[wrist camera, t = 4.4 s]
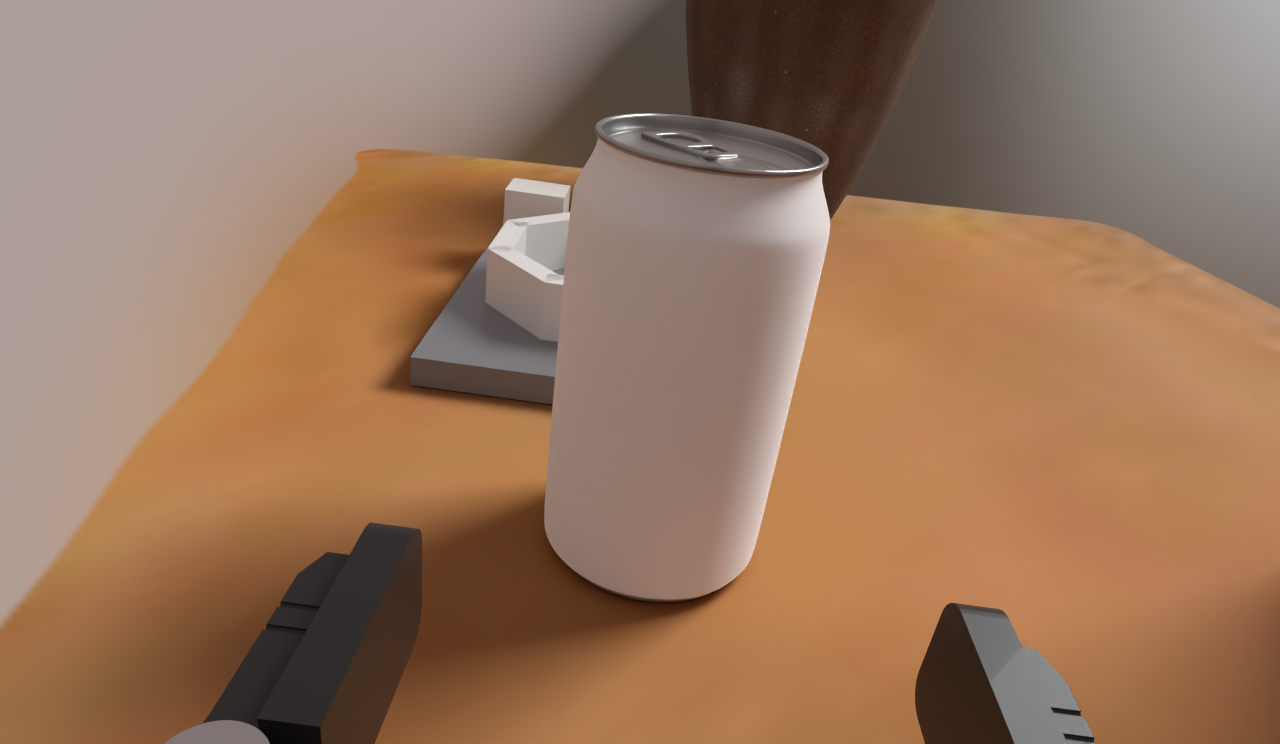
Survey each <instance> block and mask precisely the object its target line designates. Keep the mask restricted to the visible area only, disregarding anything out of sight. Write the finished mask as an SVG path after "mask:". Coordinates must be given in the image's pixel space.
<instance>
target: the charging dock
mask: <svg viewBox="0 0 1280 744" xmlns="http://www.w3.org/2000/svg"><path fill="white" fill-rule="evenodd" d="M570 188H571V186H569V185H562V184H555V183H548V182H541V181H533V180H526V179H519V178H514V179H513V180H512V181H511V183H510V184H509V185H508V186H507V188H506V189H505V200H504V220H503V227H502V228H501V229H499V231H498V232H497V234H496V235H495V236H494V238H493V239H492V241H491V242H490V244H489V245H488V246H487V248H486V249H485V251H484V252H483V254H482V255H481V256H480V258H479V259H478V261H477V262H476V264H475V265H474V266H473V268H472V269H471V271H470V272H469V274H468V275H467V276H466V278H465V279H464V281H463V282H462V284H461V285H460V286H459V288H458V289H457V291H456V292H455V294H454V295H453V296H452V298H451V299H450V301H449V302H448V304H447V305H446V306H445V308H444V309H443V311H442V312H441V314H440V315H439V316H438V318H437V319H436V321H435V322H434V324H433V325H432V326H431V328H430V329H429V331H428V332H427V334H426V335H425V336H424V338H423V339H422V341H421V342H420V344H419V345H418V346H417V348H416V349H415V351H414V352H413V354H412V355H411V356H410V385H414V386H422V387H429V388H436V389H444V390H451V391H458V392H465V393H473V394H480V395H487V396H494V397H502V398H509V399H516V400H524V401H531V402H538V403H545V404H553V395H554V384H555V372H556V361H557V349H558V338H559V327H560V315H561V304H562V293H563V282H564V271H565V260H566V249H567V239H568V228H569V218H570V212H568V211H569V199H570Z"/></svg>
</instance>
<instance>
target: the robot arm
mask: <svg viewBox="0 0 1280 744" xmlns="http://www.w3.org/2000/svg"><path fill="white" fill-rule="evenodd" d="M421 608H422V536H421V531H420V530H419V529H414V528H407V527H400V526H392V525H385V524H377V523H369V524H368V525H367V526H366V527H365V529H364V531H363V532H362V534H361V536H360V538H359V539H358V541H357V543H356V545H355V546H354V548H353V550H352V552H351V553H350V555H345V554H337V553H330V552H327V553H325V554H324V555H323V556H321V557H320V558H319V559H317V560H316V561H315V562H313V563H312V564H311V565H309V566H308V567H307V568H305V569H304V570H303V571H302V572H300V573H299V574H298V575H297V577H296V578H295V580H294V581H293V583H292V585H291V586H290V588H289V589H288V591H287V593H286V594H285V596H284V597H283V599H282V600H281V605H280V607H277V608H276V610H275V612H274V613H273V615H272V616H271V618H270V619H269V621H268V623H267V626H266V629H265V630H262V632H261V634H260V635H259V637H258V638H257V640H256V642H255V643H254V645H253V646H252V648H251V649H250V651H249V653H248V654H247V656H246V657H245V659H244V661H243V662H242V664H241V665H240V667H239V668H238V670H237V672H236V673H235V675H234V676H233V678H232V679H231V681H230V683H229V684H228V686H227V687H226V689H225V691H224V692H223V694H222V695H221V697H220V698H219V700H218V702H217V703H216V705H215V706H214V708H213V710H212V711H211V713H210V714H209V716H208V717H207V718H206V720H205V721H204V722H203V724H200V725H196V726H194V727H191V728H189V729H187V730H184V731H182V732H181V733H179V734H177V735H175V736H173V737H172V738H171V739H169V740H168V741H166V742H165V743H164V744H374V743H375V741H376V738H377V736H378V733H379V731H380V728H381V726H382V723H383V721H384V718H385V716H386V713H387V711H388V709H389V706H390V704H391V701H392V699H393V696H394V694H395V691H396V689H397V686H398V684H399V681H400V679H401V676H402V674H403V671H404V669H405V666H406V664H407V661H408V659H409V656H410V654H411V651H412V649H413V646H414V643H415V640H416V636H417V632H418V628H419V623H420V617H421ZM915 704H916V712H917V717H918V721H919V724H920V728H921V731H922V734H923V738H924V741H925V744H1095V743H1094V736H1093V734H1092V732H1091V730H1090V728H1089V726H1088V724H1087V722H1086V720H1085V718H1084V717H1081V715H1080V713H1081V710H1080V708H1079V706H1078V704H1077V702H1076V700H1075V698H1074V696H1073V695H1072V693H1071V691H1070V689H1069V687H1068V685H1067V683H1066V681H1065V679H1064V678H1063V677H1062V676H1061V675H1060V674H1059V673H1058V672H1057V671H1056V670H1055V668H1054V667H1053V666H1052V665H1051V664H1050V663H1049V662H1048V661H1047V660H1046V659H1045V658H1044V657H1043V656H1042V655H1041V654H1040V653H1039V652H1038V651H1037V650H1035V649H1027V648H1022V646H1021V644H1020V642H1019V639H1018V637H1017V635H1016V633H1015V631H1014V629H1013V627H1012V625H1011V623H1010V620H1009V618H1008V617H1007V615H1006V614H1005V613H1004V612H1003V611H1002V610H1000V609H993V608H986V607H979V606H971V605H964V604H956V603H950V604H948V605H947V606H946V607H945V608H944V610H943V612H942V614H941V617H940V619H939V622H938V624H937V627H936V629H935V632H934V634H933V637H932V640H931V642H930V645H929V647H928V650H927V652H926V655H925V657H924V660H923V663H922V665H921V668H920V670H919V673H918V677H917V681H916V689H915Z"/></svg>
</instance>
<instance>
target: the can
mask: <svg viewBox="0 0 1280 744" xmlns="http://www.w3.org/2000/svg"><path fill="white" fill-rule="evenodd" d="M595 132H596V134H597V136H598V141H597V145H596V148H595V150H594V151H593V153H592V155H591V157H590V159H589V160H588V162H587V163H586V165H585V166H584V168H583V170H582V171H581V173H580V175H579V177H578V179H577V181H576V183H575V185H574V190H573V195H572V201H571V210H570V218H569V228H568V239H567V249H566V260H565V271H564V282H563V293H562V304H561V315H560V327H559V338H558V349H557V361H556V372H555V384H554V395H553V407H552V419H551V430H550V442H549V455H548V467H547V479H546V493H545V507H544V526H545V531H546V535H547V537H548V540H549V542H550V544H551V546H552V547H553V549H554V550H555V552H556V553H557V554H558V556H559V557H560V558H561V559H562V560H563V561H564V562H565V563H566V564H567V565H568V566H569V567H570V568H571V569H572V570H573V571H574V572H575V573H577V574H578V575H579V576H580V577H582V578H583V579H585V580H586V581H588V582H589V583H591V584H593V585H594V586H596V587H598V588H600V589H602V590H605V591H607V592H610V593H612V594H615V595H618V596H622V597H625V598H629V599H634V600H640V601H647V602H681V601H688V600H693V599H697V598H700V597H702V596H705V595H707V594H709V593H711V592H713V591H715V590H718V589H719V588H721V587H723V586H725V585H726V584H728V583H729V582H731V581H732V580H733V579H735V578H736V577H737V576H738V575H739V574H740V573H741V572H742V571H743V570H744V569H745V568H746V566H747V565H748V563H749V562H750V560H751V557H752V554H753V551H754V548H755V544H756V541H757V537H758V533H759V529H760V525H761V521H762V517H763V513H764V509H765V505H766V501H767V497H768V493H769V489H770V485H771V481H772V477H773V473H774V469H775V464H776V460H777V456H778V452H779V448H780V444H781V440H782V435H783V431H784V427H785V423H786V419H787V415H788V411H789V406H790V402H791V398H792V394H793V390H794V386H795V381H796V377H797V373H798V369H799V365H800V361H801V356H802V352H803V348H804V344H805V340H806V335H807V331H808V327H809V323H810V318H811V314H812V310H813V306H814V302H815V297H816V293H817V289H818V284H819V280H820V276H821V271H822V267H823V263H824V258H825V253H826V249H827V244H828V239H829V232H830V217H829V211H828V207H827V203H826V198H825V194H824V190H823V184H822V173H823V170H825V169H826V168H827V166H828V163H829V159H828V157H827V155H826V154H825V153H824V152H823V151H822V150H820V149H819V148H817V147H815V146H813V145H811V144H809V143H807V142H805V141H802V140H800V139H797V138H794V137H791V136H788V135H785V134H782V133H779V132H775V131H771V130H767V129H763V128H759V127H755V126H750V125H746V124H741V123H735V122H730V121H724V120H718V119H711V118H703V117H695V116H684V115H673V114H624V115H617V116H612V117H608V118H605V119H602V120H601V121H599V122H598V123H597V124H596V127H595Z"/></svg>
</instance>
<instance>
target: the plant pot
mask: <svg viewBox="0 0 1280 744" xmlns="http://www.w3.org/2000/svg"><path fill="white" fill-rule="evenodd" d="M937 3H938V0H686V33H687V55H688V73H689V86H690V98H691V109H692V116H695V117H703V118H711V119H718V120H724V121H730V122H735V123H741V124H746V125H750V126H755V127H759V128H763V129H767V130H771V131H775V132H779V133H782V134H785V135H788V136H791V137H794V138H797V139H800V140H802V141H805V142H807V143H809V144H811V145H813V146H815V147H817V148H819V149H820V150H822V151H823V152H824V153H825V154H826V155H827V157H828V159H829V163H828V166H827V168H826V169H825V170H823V173H822V184H823V190H824V194H825V198H826V203H827V207H828V211H829V217H830V220H831V218H832V217H833V215H834V214H835V212H836V211H837V209H838V208H839V206H840V204H841V203H842V201H843V199H844V198H845V196H846V195H847V193H848V191H849V189H850V188H851V186H852V184H853V183H854V181H855V179H856V177H857V175H858V174H859V172H860V170H861V169H862V167H863V165H864V163H865V162H866V160H867V158H868V156H869V154H870V152H871V151H872V149H873V147H874V145H875V143H876V141H877V139H878V137H879V135H880V133H881V131H882V129H883V127H884V125H885V123H886V121H887V119H888V117H889V115H890V113H891V111H892V109H893V107H894V105H895V103H896V100H897V98H898V96H899V94H900V92H901V90H902V88H903V85H904V83H905V81H906V78H907V76H908V74H909V72H910V70H911V67H912V65H913V63H914V60H915V58H916V56H917V53H918V51H919V48H920V46H921V43H922V41H923V38H924V36H925V33H926V31H927V28H928V26H929V23H930V21H931V18H932V16H933V13H934V10H935V8H936V5H937Z"/></svg>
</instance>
